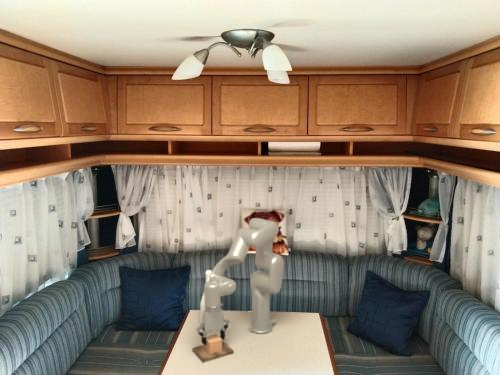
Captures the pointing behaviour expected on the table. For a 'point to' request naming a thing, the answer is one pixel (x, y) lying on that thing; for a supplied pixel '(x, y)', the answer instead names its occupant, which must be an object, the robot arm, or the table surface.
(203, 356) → the base plate
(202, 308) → the wine bottle
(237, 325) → the table surface
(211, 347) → the light orange cube
